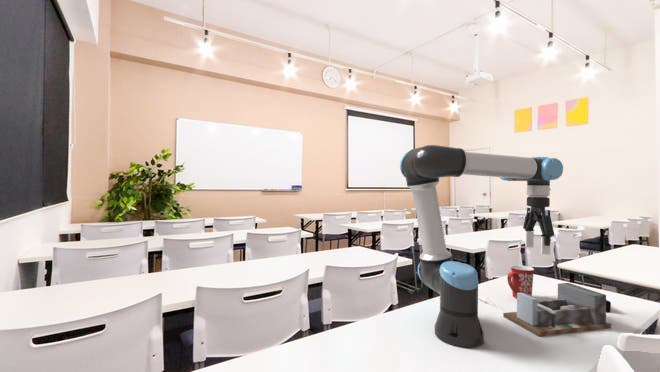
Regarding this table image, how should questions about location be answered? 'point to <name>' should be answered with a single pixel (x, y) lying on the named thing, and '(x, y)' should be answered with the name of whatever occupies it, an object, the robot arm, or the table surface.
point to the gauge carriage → (531, 309)
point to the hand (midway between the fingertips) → (537, 250)
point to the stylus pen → (489, 302)
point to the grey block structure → (568, 312)
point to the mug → (521, 280)
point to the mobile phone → (608, 306)
